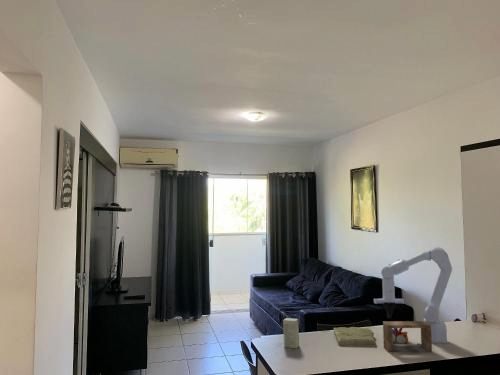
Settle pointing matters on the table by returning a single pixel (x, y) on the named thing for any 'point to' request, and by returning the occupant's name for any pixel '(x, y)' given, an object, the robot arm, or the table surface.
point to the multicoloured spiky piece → (399, 336)
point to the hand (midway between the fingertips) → (389, 317)
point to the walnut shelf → (407, 348)
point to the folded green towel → (354, 336)
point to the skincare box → (291, 332)
